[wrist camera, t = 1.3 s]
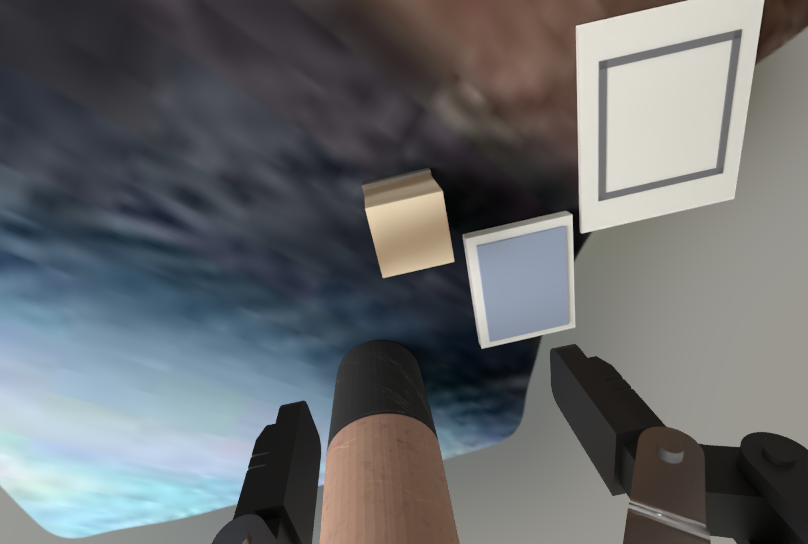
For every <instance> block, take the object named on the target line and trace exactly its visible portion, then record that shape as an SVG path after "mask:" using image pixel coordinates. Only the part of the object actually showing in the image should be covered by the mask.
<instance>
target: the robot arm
mask: <svg viewBox="0 0 808 544" xmlns="http://www.w3.org/2000/svg"><path fill="white" fill-rule="evenodd" d="M550 362H551V364H550V365H551V387H552V392H553V396H554V398H555V401H556V403H557V405H558V407H559V408H560V410H561V412H562V413H563V415H564V417H565V418H566V420H567V422H568V423H569V425H570V426H571V428H572V430H573V431H574V433H575V435H576V436H577V438H578V440H579V441H580V443H581V444H582V446H583V448H584V449H585V451H586V453H587V454H588V456H589V458H590V459H591V461H592V463H593V464H594V466H595V467H596V469H597V471H598V472H599V474H600V476H601V477H602V479H603V481H604V482H605V484H606V486H607V487H608V489H609V490H610V492H611V494H612V495H613V496H615V495H620V494H624V493H627V495H628V496H629V498H630V503H629V505H628V513H627V519H626V527H625V533H624V541H623V544H711V543H710V536H719V537H727V538H733V539H734V540H735V541H736V543H737V544H808V450H807V449H806V448H805V447H803V446H802V445H800V444H799V443H797V442H795V441H793V440H791V439H789V438H787V437H784V436H781V435H777V434H773V433H767V432H757V433H751V434H748V435H746V436H745V437H744V438H743V439H742V441H741V445H740V447H728V446H727V447H726V446H711V445H703V444H698V443H697V442H696V441H695V440H694V439H693V438H691V437H690V436H689V435H687V434H685V433H683V432H681V431H679V430H676V429H673V428H669V427H666V426H665V425H664V424H663V423H662V421H661V420H660V419H659V418H658V417H657V416H656V415H655V414H654V412H653V411H652V410H651V409H650V408H649V407H648V406H647V404H646V403H645V402H644V401H643V400H642V399H641V398H640V397H639V395H638V394H637V393H636V392H635V391H634V390H633V389H631V386H630V385H629V384H628V383H627V382H626V381H625V380H624V379H623V378H622V376H621V375H620V374H619V373H618V372H617V371H616V370H615V368H614V367H613V366H612V365H610V364H609V363H607V362H605V361H603V360H602V359H600V358H598V357H597V356H595V357H590V358H587V357H586V356H585V354H584V353H583V352H582V351H581V349H580V348H579V347H578V346H577V345H576V344H572V345H567V346H562V347H557V348H553V349H551V351H550ZM320 460H321V443H320V437H319V434H318V431H317V429H316V426H315V423H314V421H313V418H312V415H311V413H310V410H309V407H308V405H307V403H306V402H305V401H300V402H295V403H290V404H286V405H282V406H280V408H279V412H278V416H277V420H276V424H272V425H267V426H266V427H265V428H264V430H263V431H262V432H261V434H260V435H259V437H258V438H257V439H256V442H255V446H254V449H253V452H252V458H251V459H250V463H249V466H248V471H247V473H246V477H245V480H244V484H243V487H242V490H241V494H240V497H239V501H238V504H237V508H236V511H235V515H234V518H233V520H232V521H230V522H229V523H228V524H226V525H225V526H224V527H223V528H222V529H221V530H220V531H219V533H218V534H217V535H216V537H215V539H214V540H213V542H212V544H312V536H313V527H314V517H315V508H316V499H317V489H318V479H319V470H320Z"/></svg>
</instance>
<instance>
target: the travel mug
mask: <svg viewBox="0 0 808 544" xmlns="http://www.w3.org/2000/svg"><path fill="white" fill-rule="evenodd" d="M320 544H459V539H458V534H457V530H456V524H455V520H454V515H453V510H452V506H451V500H450V495H449V490H448V485H447V480H446V476H445V471H444V466H443V461H442V456H441V451H440V446H439V443H438V438H437V434H436V430H435V426H434V422H433V419H432V415H431V411H430V407H429V403H428V399H427V395H426V391H425V387H424V383H423V380H422V376H421V372H420V369H419V366H418V363H417V361H416V359H415V357H414V356H413V354H412V353H411V352H410V351H409V350H407V349H406V348H405V347H403V346H401V345H399V344H397V343H393V342H389V341H371V342H367V343H364V344H361V345H359V346H357V347H355V348H354V349H352V350H351V351H350V352H349V353H348V354H346V356H345V357H344V358H343V360H342V361H341V363H340V366H339V368H338V373H337V378H336V385H335V393H334V401H333V409H332V416H331V424H330V432H329V440H328V448H327V457H326V470H325V483H324V495H323V509H322V521H321V534H320Z"/></svg>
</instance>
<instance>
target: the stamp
mask: <svg viewBox="0 0 808 544" xmlns="http://www.w3.org/2000/svg"><path fill="white" fill-rule="evenodd" d="M362 189H363V193H364V197H365V210H366V214H367V218H368V222H369V226H370V230H371V234H372V237H373V241H374V245H375V249H376V253H377V257H378V261H379V265H380V269H381V273H382V277H383V278H385V277H390V276H394V275H399V274H403V273H407V272H412V271H416V270H421V269H425V268H429V267H434V266H438V265H442V264H447V263H451V262H454V256H453V250H452V244H451V238H450V232H449V226H448V220H447V214H446V208H445V202H444V196H443V191H442V189H441V188H440V187H439V185H438V184H437V183H436V181H435V180H434V179H433V177H432V175H431V170H430V168H426V169H421V170H417V171H413V172H408V173H404V174H399V175H395V176H391V177H386V178H382V179H377V180H373V181H369V182H364V183H362Z"/></svg>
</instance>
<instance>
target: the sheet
mask: <svg viewBox="0 0 808 544" xmlns="http://www.w3.org/2000/svg"><path fill="white" fill-rule="evenodd" d="M763 6H764V0H687V1H683V2H679V3H674V4H670V5H665V6H661V7H657V8H652V9H648V10H643V11H639V12H635V13H630V14H626V15H621V16H617V17H613V18H608V19H604V20H599V21H595V22H591V23H586V24H582V25H578V26H576V60H577V114H578V168H579V222H580V233H581V234H582V233H586V232H591V231H595V230H599V229H604V228H608V227H612V226H617V225H621V224H626V223H630V222H634V221H639V220H643V219H648V218H652V217H656V216H660V215H665V214H669V213H674V212H678V211H683V210H687V209H691V208H696V207H700V206H705V205H709V204H713V203H718V202H722V201H727V200H731V199H734V198H735V192H736V185H737V178H738V171H739V165H740V158H741V152H742V144H743V139H744V132H745V125H746V119H747V111H748V105H749V98H750V92H751V85H752V78H753V72H754V66H755V59H756V52H757V46H758V39H759V32H760V26H761V19H762V13H763Z"/></svg>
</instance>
